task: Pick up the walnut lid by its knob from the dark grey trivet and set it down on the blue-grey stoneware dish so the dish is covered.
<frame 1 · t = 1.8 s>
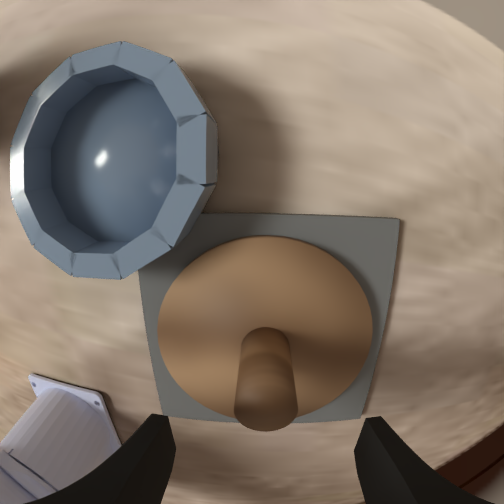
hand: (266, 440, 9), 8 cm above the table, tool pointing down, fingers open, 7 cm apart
trivet: (265, 335, 17), on the table
lid: (265, 340, 17), resting on trivet
dish: (120, 160, 15), on the table
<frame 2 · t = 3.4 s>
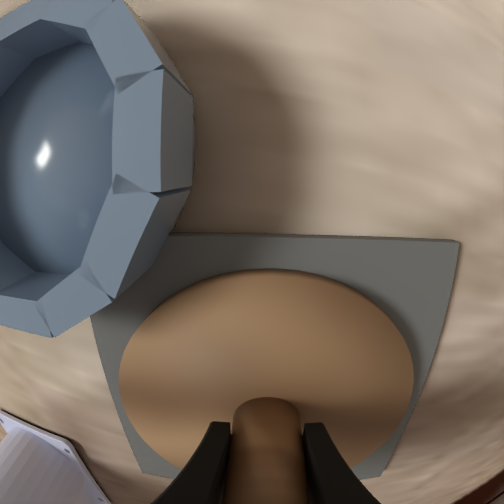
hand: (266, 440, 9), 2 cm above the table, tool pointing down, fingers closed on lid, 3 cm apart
trivet: (266, 398, 12), on the table
lid: (266, 406, 11), resting on trivet, touching gripper
dish: (61, 157, 9), on the table
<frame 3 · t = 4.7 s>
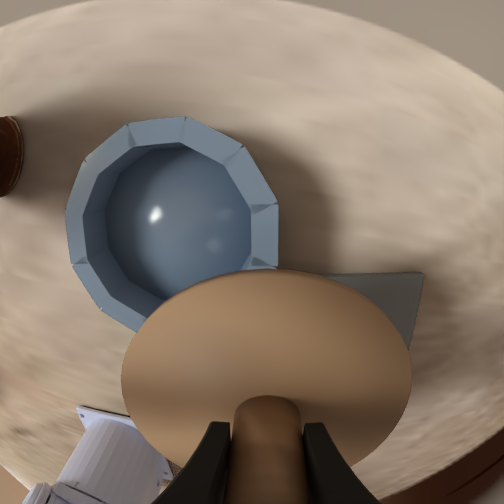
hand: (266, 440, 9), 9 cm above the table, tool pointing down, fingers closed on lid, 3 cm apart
trivet: (309, 370, 19), on the table
lid: (267, 405, 11), point 7 cm above the table, touching gripper
coffee cup: (4, 155, 16), on the table
dish: (178, 224, 17), on the table
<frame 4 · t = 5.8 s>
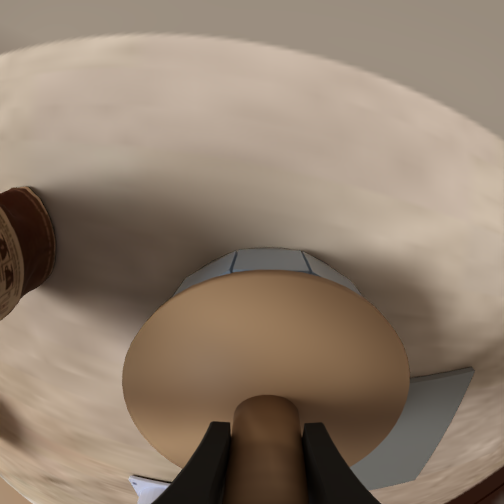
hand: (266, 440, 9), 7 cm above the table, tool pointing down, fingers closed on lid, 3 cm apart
trivet: (366, 447, 18), on the table
lid: (266, 405, 12), point 5 cm above the table, touching gripper
coffee cup: (27, 235, 15), on the table
dish: (266, 346, 16), on the table
when the fingers open (7 cm above the table, at t = 6.2 s): lid drops 1 cm, resting on dish.
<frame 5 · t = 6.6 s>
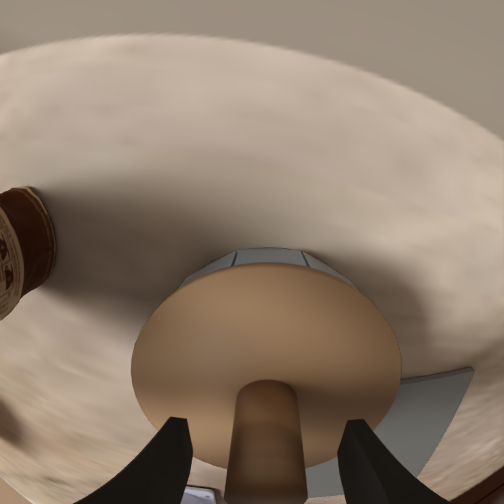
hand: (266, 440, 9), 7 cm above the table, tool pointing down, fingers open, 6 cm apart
trivet: (366, 447, 18), on the table
lid: (266, 390, 13), point 3 cm above the table, touching dish
coffee cup: (27, 235, 15), on the table
dish: (266, 346, 16), on the table
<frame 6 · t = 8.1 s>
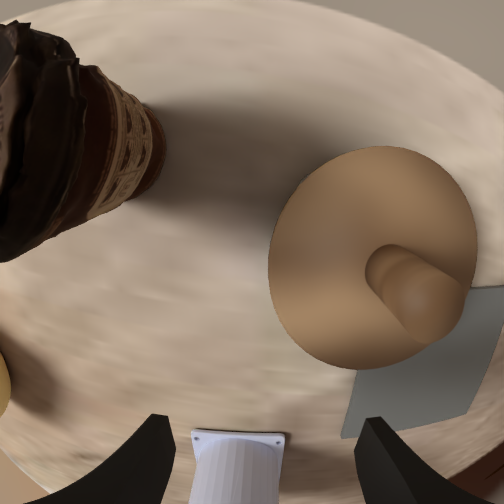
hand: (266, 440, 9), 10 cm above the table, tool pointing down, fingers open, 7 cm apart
trivet: (432, 366, 20), on the table
lid: (382, 265, 15), point 3 cm above the table, touching dish
coffee cup: (125, 150, 17), on the table
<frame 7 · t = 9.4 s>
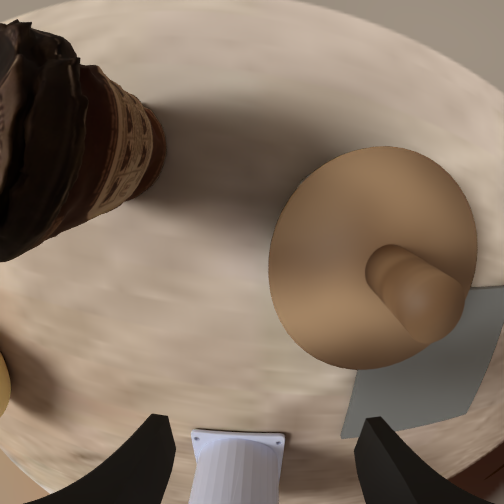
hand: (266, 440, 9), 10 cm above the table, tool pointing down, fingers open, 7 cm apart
trivet: (432, 367, 20), on the table
lid: (383, 265, 15), point 3 cm above the table, touching dish
coffee cup: (125, 150, 17), on the table
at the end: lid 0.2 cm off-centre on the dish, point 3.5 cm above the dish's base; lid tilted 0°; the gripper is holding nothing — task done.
